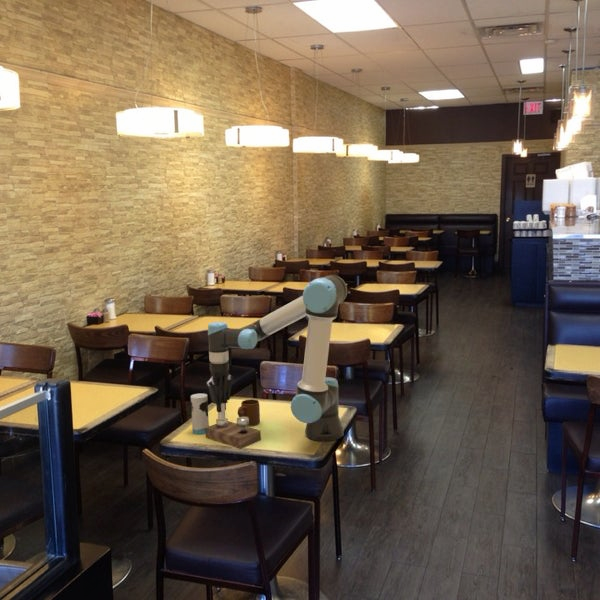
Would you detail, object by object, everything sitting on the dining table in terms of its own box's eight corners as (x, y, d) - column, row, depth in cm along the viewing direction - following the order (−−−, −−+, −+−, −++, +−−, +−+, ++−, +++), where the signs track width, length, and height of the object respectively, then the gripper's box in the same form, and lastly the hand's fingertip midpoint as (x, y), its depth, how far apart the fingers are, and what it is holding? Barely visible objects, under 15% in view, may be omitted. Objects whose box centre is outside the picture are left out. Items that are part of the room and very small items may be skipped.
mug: (246, 430, 272) (245, 408, 270) (231, 427, 276) (230, 405, 274) (263, 422, 281) (262, 400, 280) (249, 419, 286) (248, 398, 284)
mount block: (261, 440, 260) (260, 430, 260) (240, 448, 252) (240, 438, 252) (226, 429, 273) (225, 420, 273) (205, 437, 265) (205, 427, 265)
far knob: (230, 433, 267) (230, 419, 266) (222, 436, 263) (221, 422, 263) (223, 431, 270) (222, 417, 269) (214, 434, 266) (213, 420, 266)
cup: (212, 430, 273) (210, 394, 271) (201, 435, 268) (199, 399, 266) (200, 427, 277) (198, 392, 275) (189, 432, 272) (187, 396, 269)
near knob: (251, 433, 259) (251, 418, 258) (243, 436, 255) (242, 421, 254) (243, 430, 262) (242, 415, 261) (234, 433, 258) (234, 418, 257)
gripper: (224, 356, 270) (227, 413, 273) (200, 363, 260) (203, 421, 263) (237, 359, 265) (240, 416, 268) (212, 366, 255) (215, 425, 258)
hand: (221, 419), depth 266 cm, fingers closed
